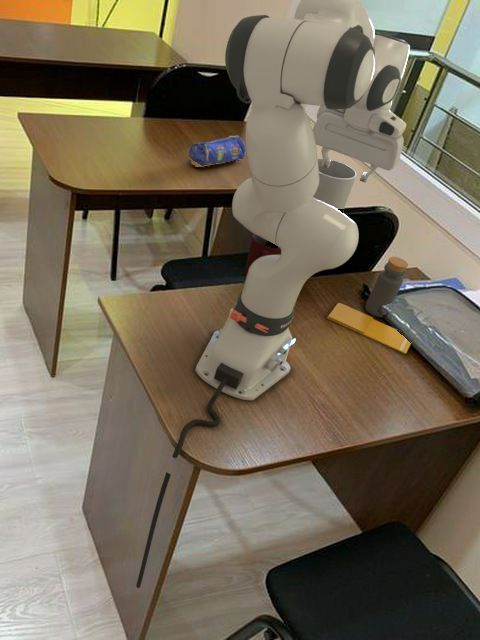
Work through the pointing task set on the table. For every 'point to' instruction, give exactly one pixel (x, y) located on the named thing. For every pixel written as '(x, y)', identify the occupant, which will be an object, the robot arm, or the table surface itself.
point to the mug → (259, 250)
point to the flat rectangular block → (369, 327)
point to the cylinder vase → (335, 183)
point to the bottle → (386, 285)
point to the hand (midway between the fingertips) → (344, 173)
